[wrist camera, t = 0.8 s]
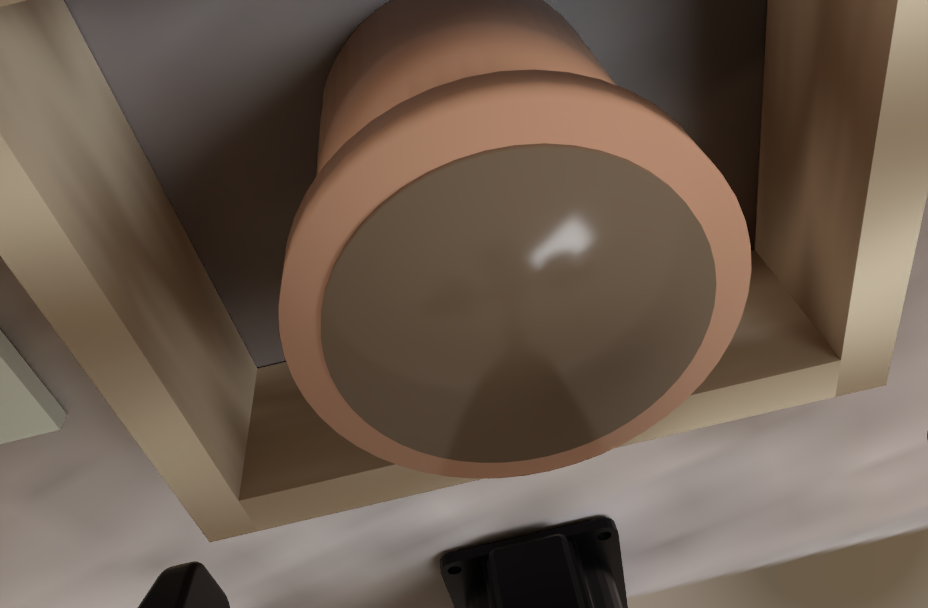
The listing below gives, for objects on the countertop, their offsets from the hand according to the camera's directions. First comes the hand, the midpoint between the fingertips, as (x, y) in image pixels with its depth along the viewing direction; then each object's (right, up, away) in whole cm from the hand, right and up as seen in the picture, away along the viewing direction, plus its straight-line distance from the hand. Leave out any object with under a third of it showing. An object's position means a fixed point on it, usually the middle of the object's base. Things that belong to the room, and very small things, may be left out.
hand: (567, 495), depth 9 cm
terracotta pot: (-1, +6, +8) cm, 10 cm away
